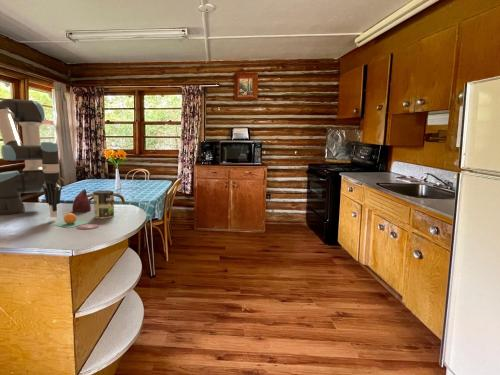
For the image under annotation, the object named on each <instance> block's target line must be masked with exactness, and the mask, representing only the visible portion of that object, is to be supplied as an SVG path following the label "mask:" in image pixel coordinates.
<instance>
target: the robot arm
mask: <svg viewBox="0 0 500 375" xmlns="http://www.w3.org/2000/svg"><path fill="white" fill-rule="evenodd" d="M45 117H46V115H45V110H44V107H43V105H42V103H41V102H39V101H37V100H31V99H19V98H18V99H17V98H16V99H15V98H4V99H2V100H0V134H1V138H2V142H3V145H2V146H1V147H0V148H1V149H0V150H1V158H2V160H4V161H14V162H15V161H24V166H25V167H24V168H23V169H22V172H21V173H20V171H18V170H12V171H11V170H10V171H3V172H0V215H1V216H2V215H3V216H5V215H6V216H7V215H15V214H20V213H25V211H26V207H25V206H26V205H25V204H24V202H23V200H22V198H21V194H28V193H30V194H31V193H42V192H43V194H44V200H45V202H46V204H47V205H49V218H51V219H53V218H57V217H58V212H57V211H58V205H59V204H60V203H61V194H62V189H63V186H61V185H59V180H60V178H61V177H60V176H61V175H60V160H59V159H60V158H59V157H60V156H59V145H58V142H54V141H41V134H40V126H41V125H42V124H43V123H42V122H44V121H45V119H46V118H45ZM15 121H18V122H17V123H18V124H19V125H20V126H21V131H22V132H21V133H22V134H21V135H22V139H21V137H20V133H19V130H18V127H17V124H16V122H15ZM22 142H23V143H22Z"/></svg>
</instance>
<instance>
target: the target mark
mask: <svg viewBox="0 0 500 375" xmlns="http://www.w3.org/2000/svg"><path fill="white" fill-rule="evenodd" d="M86 224H90V222H88V221H82V220H78V219H76V221H75V222H74V223H73V224H67V223H66V222H65V221H64V222H59V223H53V224H52V226H55V227H56V226H57V227H60V228H66V229H71V228H75V227H78V226H81V225H86Z"/></svg>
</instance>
